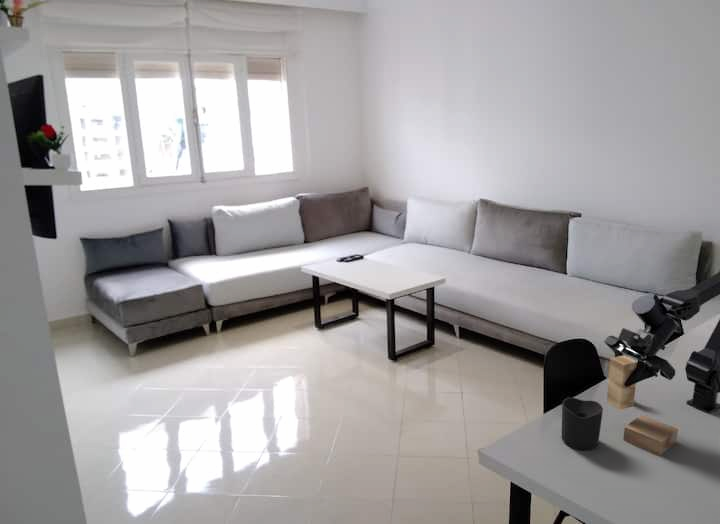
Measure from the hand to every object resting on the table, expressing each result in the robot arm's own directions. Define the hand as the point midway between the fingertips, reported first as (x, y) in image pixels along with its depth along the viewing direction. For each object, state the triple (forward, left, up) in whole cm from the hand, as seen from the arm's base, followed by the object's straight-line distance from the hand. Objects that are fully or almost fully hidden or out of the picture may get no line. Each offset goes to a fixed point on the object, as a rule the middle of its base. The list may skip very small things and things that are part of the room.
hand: (618, 381), depth 140 cm
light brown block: (-3, +8, -14) cm, 16 cm away
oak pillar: (-1, 0, -7) cm, 7 cm away
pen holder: (+12, -1, -14) cm, 18 cm away
